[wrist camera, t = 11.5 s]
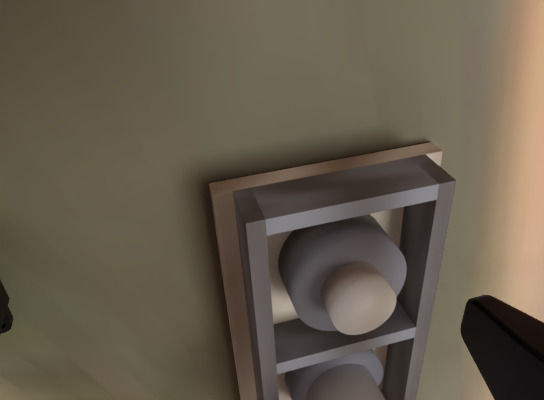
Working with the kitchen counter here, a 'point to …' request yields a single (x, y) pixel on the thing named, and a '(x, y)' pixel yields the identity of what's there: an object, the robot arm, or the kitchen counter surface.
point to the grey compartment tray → (333, 265)
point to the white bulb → (338, 379)
